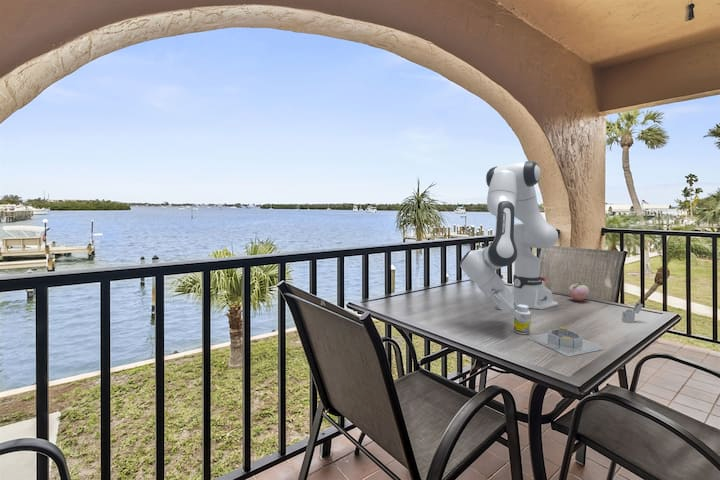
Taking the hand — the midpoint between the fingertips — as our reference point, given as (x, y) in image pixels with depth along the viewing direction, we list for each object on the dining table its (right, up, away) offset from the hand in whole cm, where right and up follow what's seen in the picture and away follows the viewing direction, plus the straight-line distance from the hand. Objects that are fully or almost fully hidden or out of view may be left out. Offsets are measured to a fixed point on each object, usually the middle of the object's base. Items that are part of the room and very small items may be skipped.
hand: (519, 314), depth 132 cm
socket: (+11, -8, -11) cm, 17 cm away
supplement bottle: (+1, -7, 0) cm, 7 cm away
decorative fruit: (+49, -3, +43) cm, 65 cm away
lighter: (+52, -6, +12) cm, 54 cm away
